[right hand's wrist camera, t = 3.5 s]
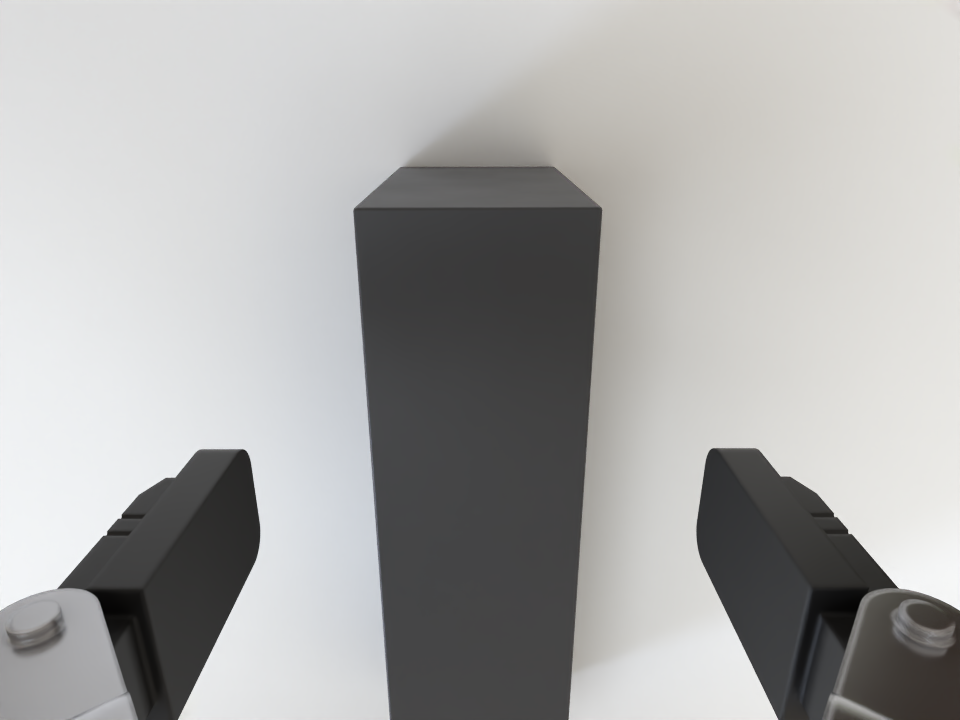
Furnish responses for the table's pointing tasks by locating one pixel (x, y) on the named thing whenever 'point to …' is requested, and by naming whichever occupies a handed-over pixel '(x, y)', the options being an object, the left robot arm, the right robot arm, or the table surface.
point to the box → (478, 431)
